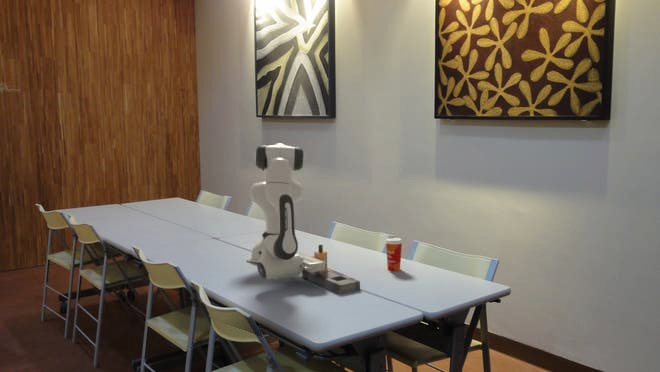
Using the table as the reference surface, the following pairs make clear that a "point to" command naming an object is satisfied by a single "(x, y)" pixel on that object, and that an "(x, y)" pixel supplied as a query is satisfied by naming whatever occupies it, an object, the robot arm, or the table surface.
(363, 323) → the table surface
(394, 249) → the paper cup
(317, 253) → the plug
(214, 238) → the table surface
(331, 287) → the grey socket board
